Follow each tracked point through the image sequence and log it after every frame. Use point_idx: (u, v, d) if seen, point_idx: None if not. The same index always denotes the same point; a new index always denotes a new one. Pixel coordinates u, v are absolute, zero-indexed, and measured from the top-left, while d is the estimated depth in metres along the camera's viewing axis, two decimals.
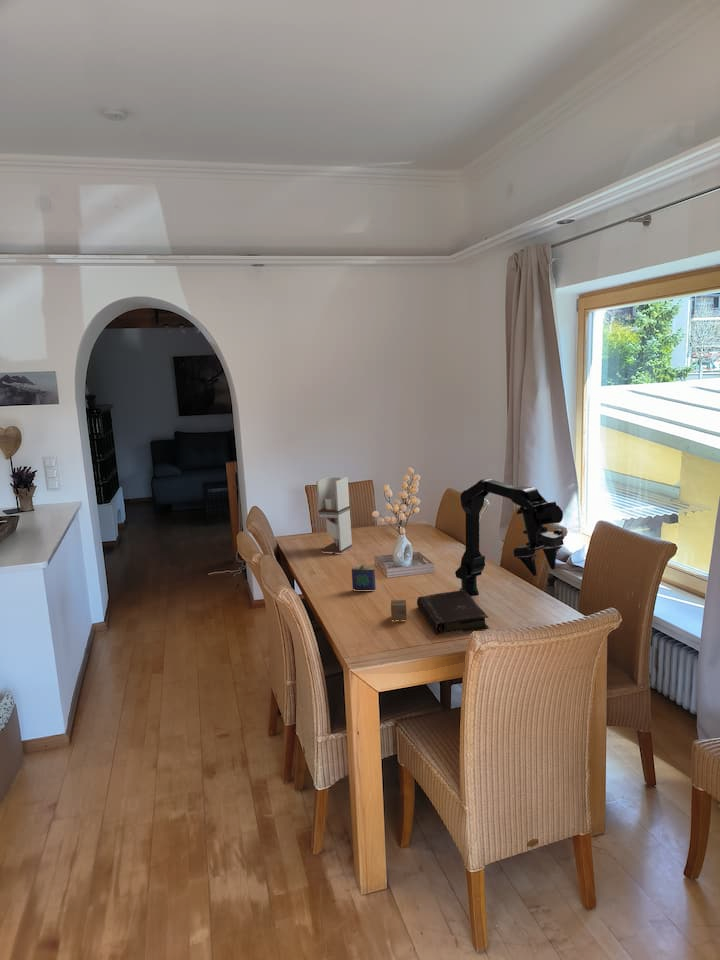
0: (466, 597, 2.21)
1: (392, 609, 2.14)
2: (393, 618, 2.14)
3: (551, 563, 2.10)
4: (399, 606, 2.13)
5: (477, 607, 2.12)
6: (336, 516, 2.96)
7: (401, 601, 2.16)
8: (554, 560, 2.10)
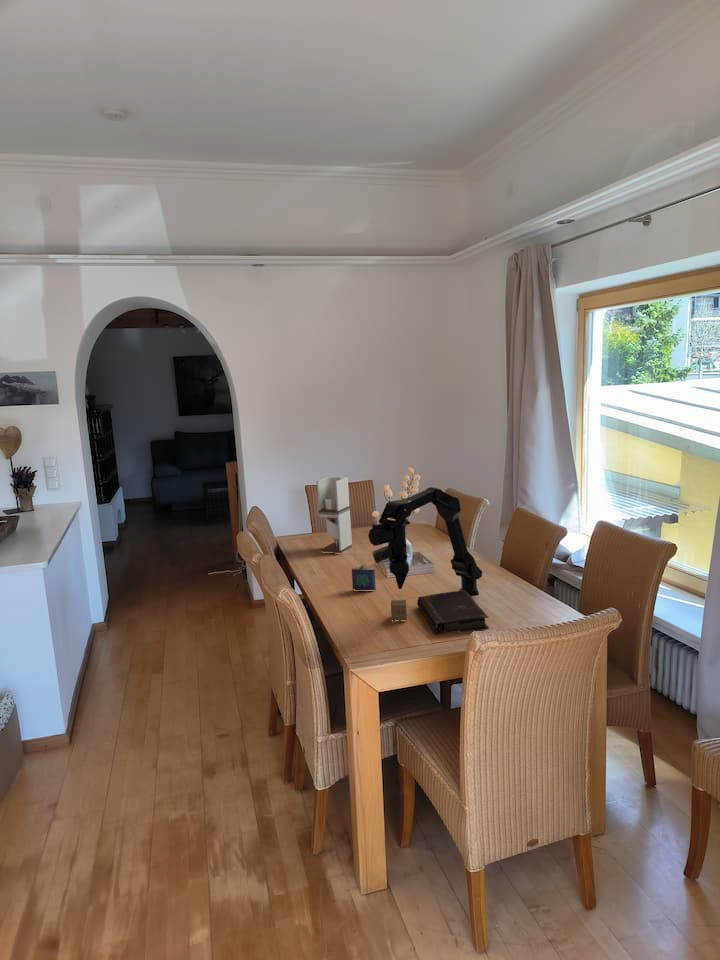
0: (466, 597, 2.21)
1: (392, 609, 2.14)
2: (393, 618, 2.14)
3: None
4: (399, 606, 2.13)
5: (477, 607, 2.12)
6: (336, 516, 2.96)
7: (401, 601, 2.16)
8: None
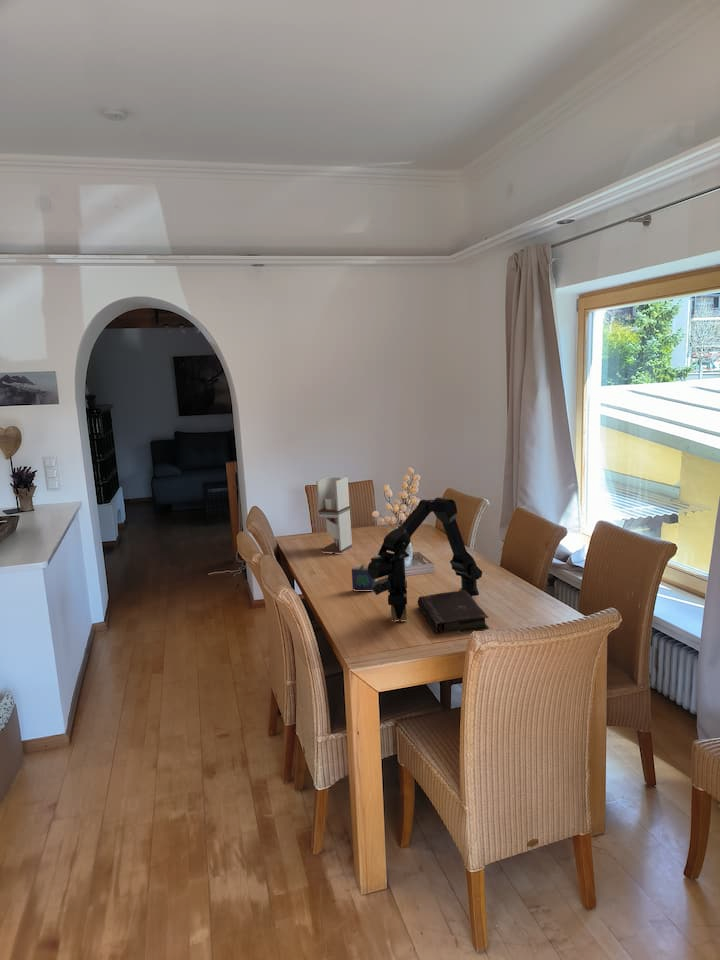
0: (467, 597, 2.21)
1: (392, 609, 2.14)
2: (393, 618, 2.14)
3: None
4: None
5: (477, 607, 2.11)
6: (336, 516, 2.96)
7: None
8: None
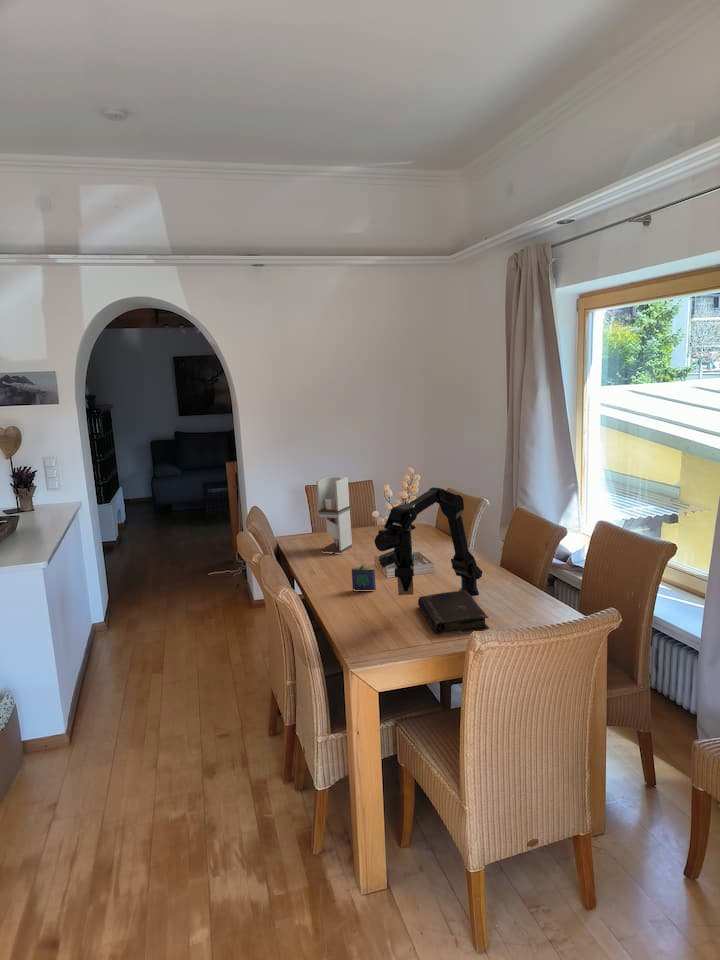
0: (467, 597, 2.21)
1: (399, 582, 2.12)
2: (400, 591, 2.13)
3: None
4: None
5: (478, 607, 2.11)
6: (336, 516, 2.96)
7: None
8: None
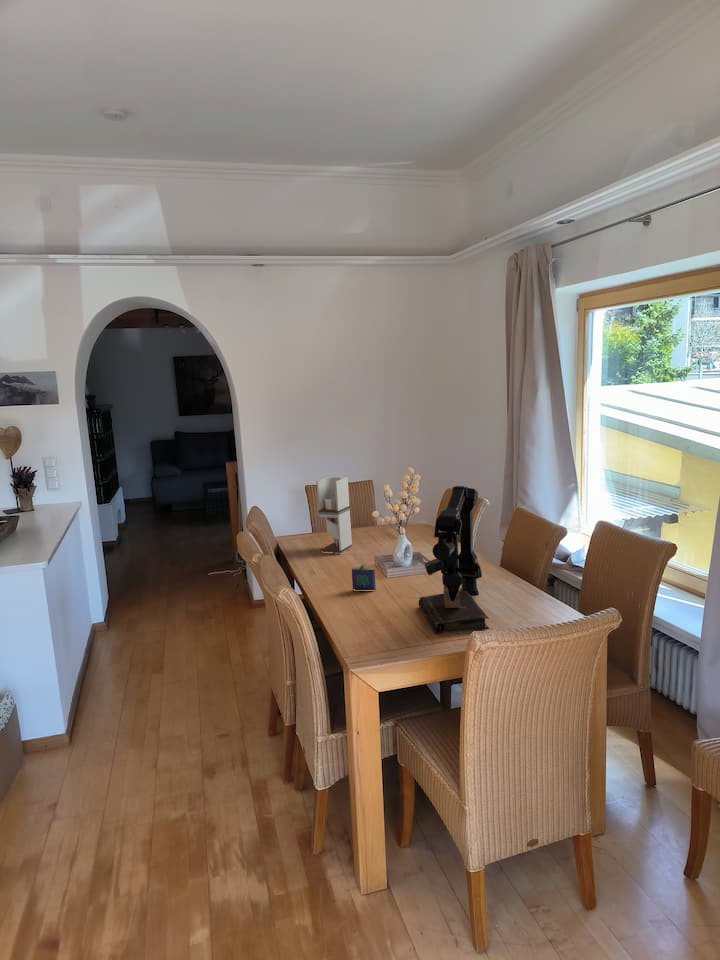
0: (468, 598, 2.21)
1: (446, 595, 2.12)
2: (446, 604, 2.12)
3: None
4: None
5: (478, 608, 2.11)
6: (336, 516, 2.96)
7: None
8: (449, 593, 2.09)
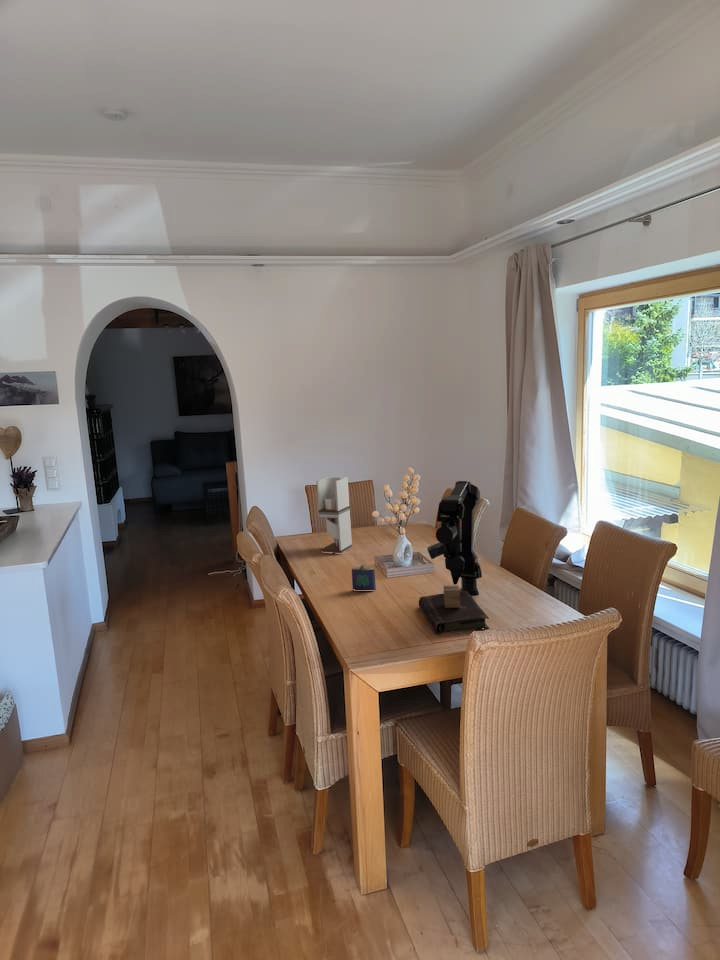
0: (468, 598, 2.21)
1: (446, 594, 2.11)
2: (446, 604, 2.12)
3: None
4: (453, 591, 2.11)
5: (478, 608, 2.11)
6: (336, 516, 2.96)
7: (454, 587, 2.14)
8: None
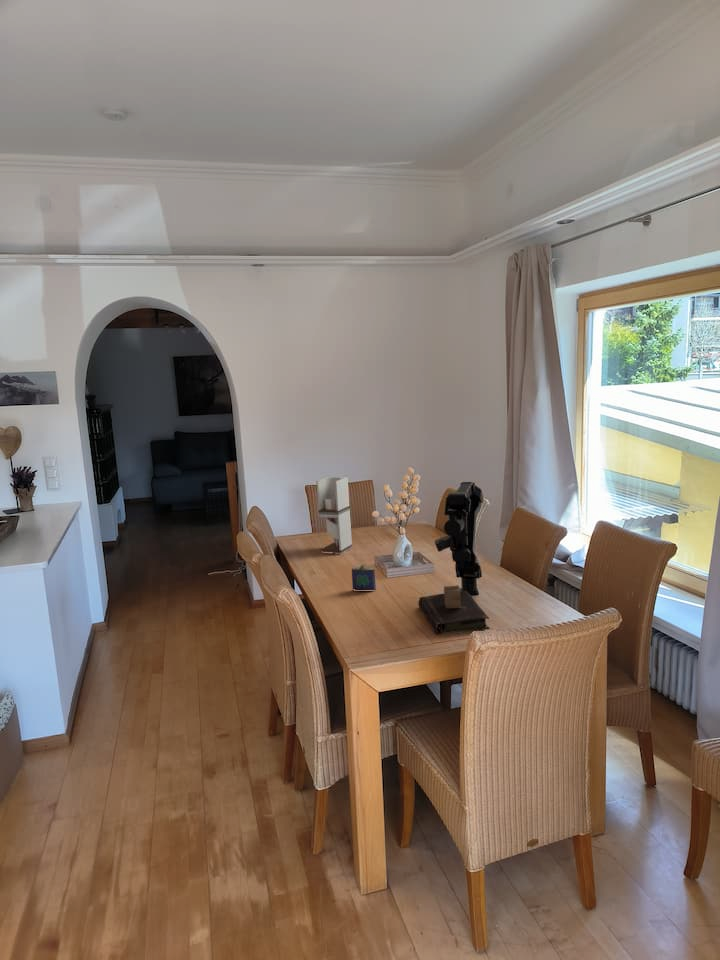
0: (468, 598, 2.21)
1: (446, 595, 2.11)
2: (447, 604, 2.12)
3: None
4: (453, 592, 2.11)
5: (478, 608, 2.11)
6: (336, 516, 2.96)
7: (454, 587, 2.14)
8: (458, 568, 2.17)
